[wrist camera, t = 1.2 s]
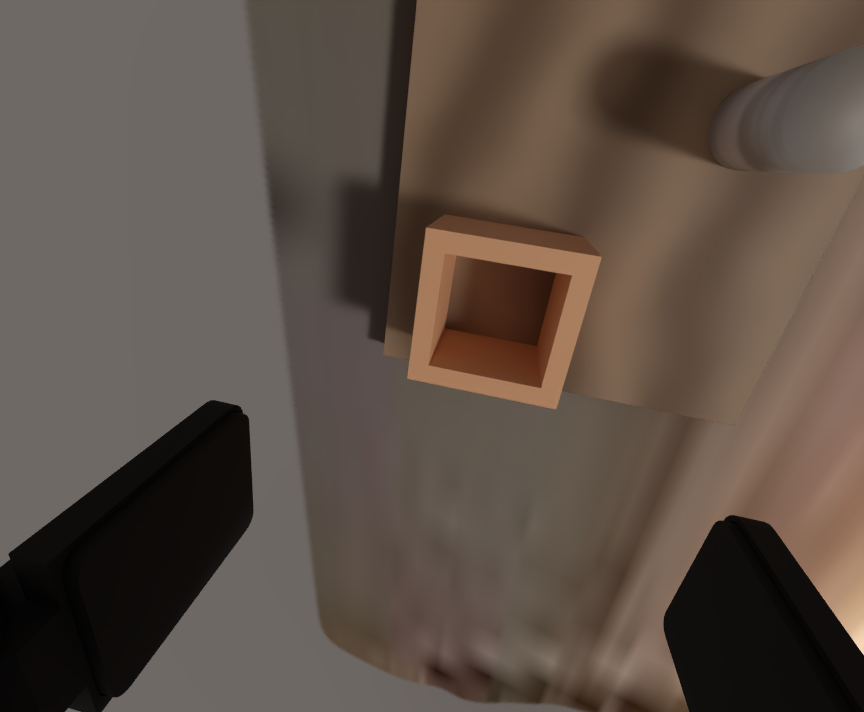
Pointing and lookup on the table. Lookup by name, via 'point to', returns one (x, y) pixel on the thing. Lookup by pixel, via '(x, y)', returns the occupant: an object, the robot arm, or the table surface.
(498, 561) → the table surface
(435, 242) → the collar
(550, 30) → the post board
